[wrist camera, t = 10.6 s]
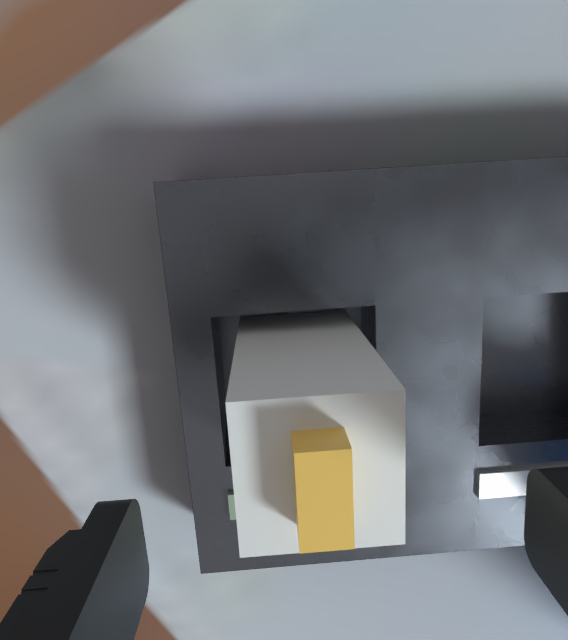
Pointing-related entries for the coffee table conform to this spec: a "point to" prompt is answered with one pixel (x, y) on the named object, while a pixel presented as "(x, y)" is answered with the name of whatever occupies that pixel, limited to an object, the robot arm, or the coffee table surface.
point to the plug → (314, 437)
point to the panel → (386, 328)
